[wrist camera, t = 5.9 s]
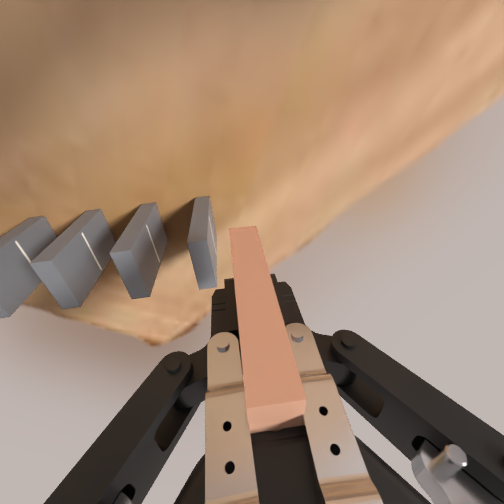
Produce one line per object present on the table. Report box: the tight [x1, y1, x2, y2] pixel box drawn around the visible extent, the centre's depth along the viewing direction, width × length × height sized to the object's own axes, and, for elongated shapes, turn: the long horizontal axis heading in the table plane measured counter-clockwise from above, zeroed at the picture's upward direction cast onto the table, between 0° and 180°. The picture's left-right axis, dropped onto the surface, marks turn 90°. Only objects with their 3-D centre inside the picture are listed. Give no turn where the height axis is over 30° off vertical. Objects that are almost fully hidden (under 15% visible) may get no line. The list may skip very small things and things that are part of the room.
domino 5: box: [229, 226, 307, 434], centre depth 12 cm, size 2×5×10 cm, turn 2°
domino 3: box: [110, 202, 168, 299], centre depth 25 cm, size 2×5×10 cm, turn 4°
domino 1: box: [0, 216, 57, 318], centre depth 24 cm, size 2×5×10 cm, turn 5°
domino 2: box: [29, 209, 116, 309], centre depth 24 cm, size 2×5×10 cm, turn 5°
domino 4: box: [187, 196, 217, 290], centre depth 25 cm, size 2×5×10 cm, turn 5°
